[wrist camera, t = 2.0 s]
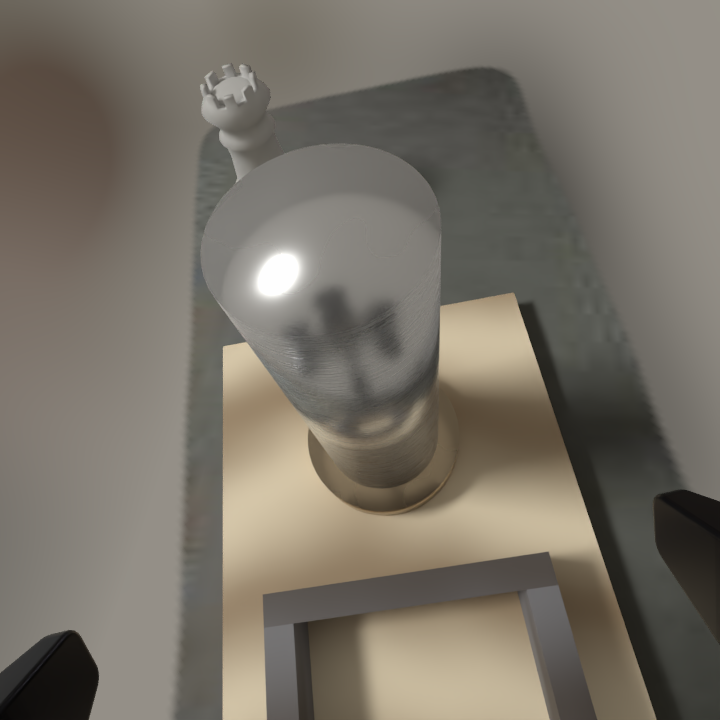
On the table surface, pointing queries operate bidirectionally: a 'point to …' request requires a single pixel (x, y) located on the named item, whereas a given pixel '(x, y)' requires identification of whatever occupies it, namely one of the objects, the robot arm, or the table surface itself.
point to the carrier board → (420, 561)
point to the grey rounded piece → (344, 313)
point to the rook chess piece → (241, 117)
